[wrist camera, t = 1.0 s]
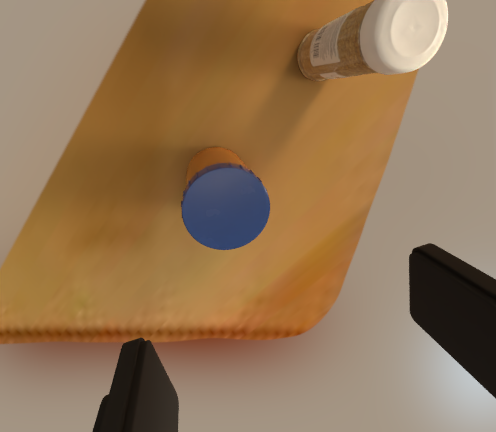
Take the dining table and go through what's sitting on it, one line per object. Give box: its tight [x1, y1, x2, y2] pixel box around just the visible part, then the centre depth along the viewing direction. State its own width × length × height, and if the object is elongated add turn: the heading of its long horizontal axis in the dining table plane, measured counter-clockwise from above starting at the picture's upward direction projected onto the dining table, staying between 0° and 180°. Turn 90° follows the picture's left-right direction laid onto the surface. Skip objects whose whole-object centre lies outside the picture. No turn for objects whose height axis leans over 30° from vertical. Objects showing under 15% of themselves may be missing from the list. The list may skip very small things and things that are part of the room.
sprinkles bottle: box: [297, 0, 448, 81], centre depth 22 cm, size 5×4×13 cm
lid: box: [181, 162, 270, 250], centre depth 23 cm, size 7×7×2 cm
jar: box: [186, 147, 248, 186], centre depth 27 cm, size 6×6×9 cm
